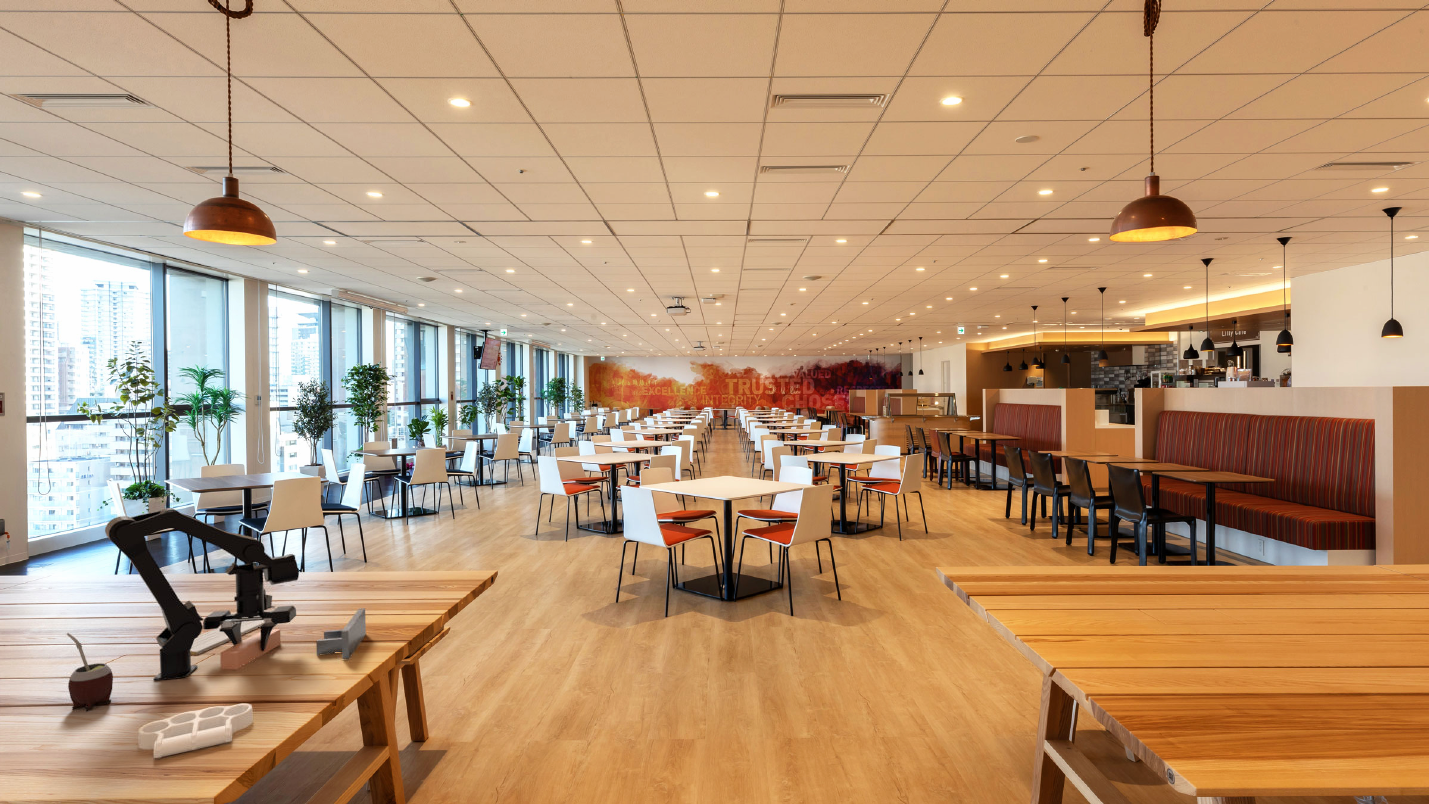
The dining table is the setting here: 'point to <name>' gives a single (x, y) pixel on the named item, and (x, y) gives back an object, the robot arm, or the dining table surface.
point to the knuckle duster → (194, 729)
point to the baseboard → (221, 636)
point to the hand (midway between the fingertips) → (251, 651)
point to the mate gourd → (90, 683)
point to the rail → (248, 650)
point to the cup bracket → (344, 637)
